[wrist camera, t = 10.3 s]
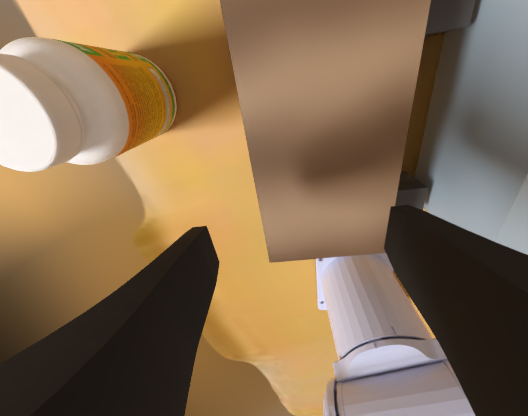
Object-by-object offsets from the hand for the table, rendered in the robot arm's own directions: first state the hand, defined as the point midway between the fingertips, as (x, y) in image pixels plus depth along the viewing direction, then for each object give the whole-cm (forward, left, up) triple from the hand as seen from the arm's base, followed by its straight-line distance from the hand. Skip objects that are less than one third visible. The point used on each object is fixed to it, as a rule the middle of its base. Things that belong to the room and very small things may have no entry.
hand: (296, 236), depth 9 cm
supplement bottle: (+6, +10, -11) cm, 16 cm away
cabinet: (+2, -7, -10) cm, 13 cm away
